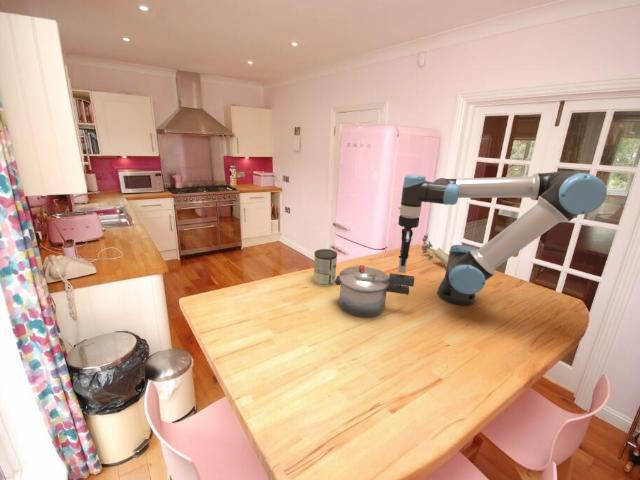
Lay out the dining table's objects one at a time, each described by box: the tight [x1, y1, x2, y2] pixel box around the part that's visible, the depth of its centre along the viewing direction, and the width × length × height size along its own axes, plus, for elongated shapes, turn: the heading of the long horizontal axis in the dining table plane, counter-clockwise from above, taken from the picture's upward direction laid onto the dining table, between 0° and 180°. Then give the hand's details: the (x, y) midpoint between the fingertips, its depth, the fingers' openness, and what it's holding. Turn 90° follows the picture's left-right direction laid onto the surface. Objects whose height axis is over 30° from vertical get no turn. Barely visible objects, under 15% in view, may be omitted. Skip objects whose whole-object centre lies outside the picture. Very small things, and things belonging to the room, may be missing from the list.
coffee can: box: [313, 248, 338, 287], centre depth 136 cm, size 10×10×14 cm
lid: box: [338, 264, 415, 292], centre depth 115 cm, size 28×20×5 cm
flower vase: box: [421, 234, 449, 266], centre depth 164 cm, size 12×12×35 cm
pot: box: [334, 275, 410, 319], centre depth 118 cm, size 28×18×11 cm, turn 77°
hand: (401, 271), depth 122 cm, fingers closed
